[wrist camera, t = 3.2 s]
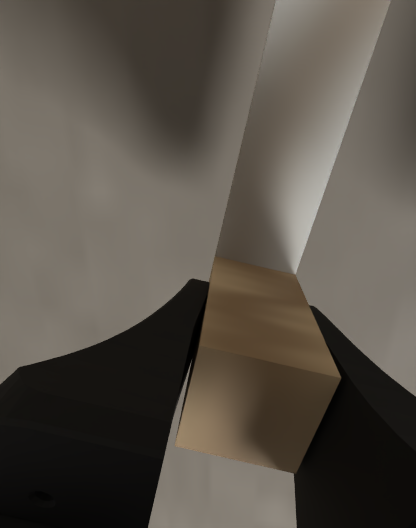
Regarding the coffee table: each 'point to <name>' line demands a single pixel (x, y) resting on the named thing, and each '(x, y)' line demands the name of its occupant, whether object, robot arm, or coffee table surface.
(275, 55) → the turner
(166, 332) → the robot arm
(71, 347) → the coffee table surface
